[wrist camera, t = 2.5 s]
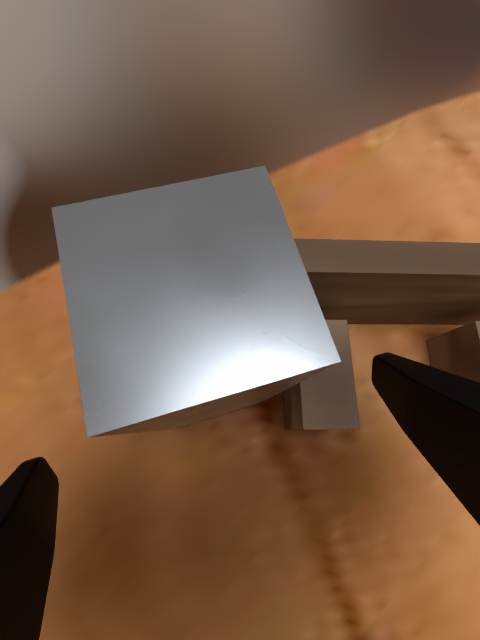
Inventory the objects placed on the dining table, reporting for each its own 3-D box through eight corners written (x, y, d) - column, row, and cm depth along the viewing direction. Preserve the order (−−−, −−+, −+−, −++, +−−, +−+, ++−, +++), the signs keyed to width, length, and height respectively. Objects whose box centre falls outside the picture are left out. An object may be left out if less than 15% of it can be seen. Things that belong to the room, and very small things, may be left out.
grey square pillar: (258, 404, 18) (341, 361, 6) (178, 428, 18) (87, 437, 5) (235, 329, 20) (265, 165, 7) (160, 349, 19) (51, 207, 7)
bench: (505, 425, 19) (663, 426, 12) (262, 428, 18) (289, 431, 11) (475, 302, 21) (594, 245, 14) (258, 299, 20) (278, 238, 14)
